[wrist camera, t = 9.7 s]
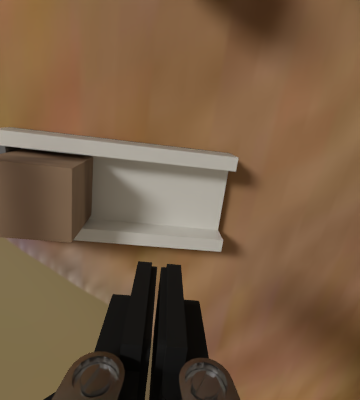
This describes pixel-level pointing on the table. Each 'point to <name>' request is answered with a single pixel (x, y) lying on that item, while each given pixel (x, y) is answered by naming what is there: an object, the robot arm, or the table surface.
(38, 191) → the walnut block
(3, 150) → the chute
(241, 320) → the table surface
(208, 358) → the robot arm
